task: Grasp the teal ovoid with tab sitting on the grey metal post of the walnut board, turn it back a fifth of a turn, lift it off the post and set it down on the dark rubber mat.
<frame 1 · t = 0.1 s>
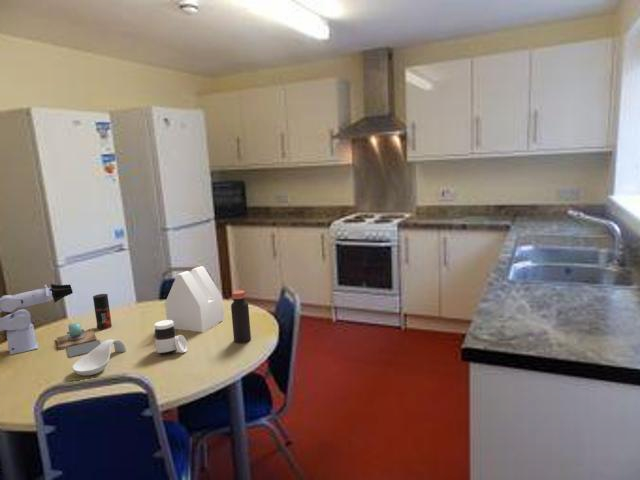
hand: (71, 288, 190), 22 cm above the table, tool horizontal, fingers open, 7 cm apart
deodorant: (104, 327, 204), on the table
spread jar: (172, 352, 173), on the table
bottle: (242, 340, 180), on the table
teal ovoid with tab: (75, 333, 189), point 3 cm above the table, touching post board
spoon rest: (102, 365, 164), on the table
post board: (76, 340, 190), on the table
white peaked block: (196, 324, 202), on the table
mat: (84, 349, 180), on the table
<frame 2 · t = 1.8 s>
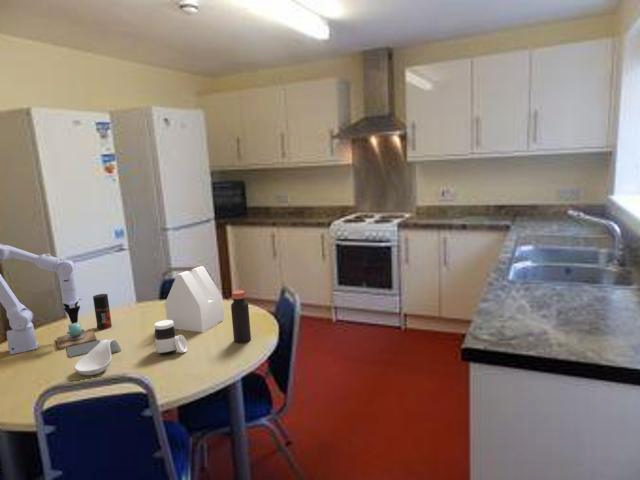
hand: (73, 320, 188), 9 cm above the table, tool pointing down, fingers open, 7 cm apart
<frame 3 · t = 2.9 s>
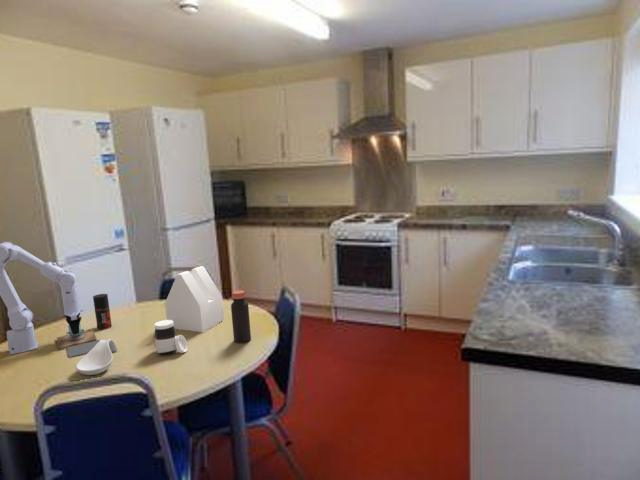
hand: (75, 332, 189), 4 cm above the table, tool pointing down, fingers closed on teal ovoid with tab, 5 cm apart
teal ovoid with tab: (75, 333, 189), point 3 cm above the table, touching gripper, post board
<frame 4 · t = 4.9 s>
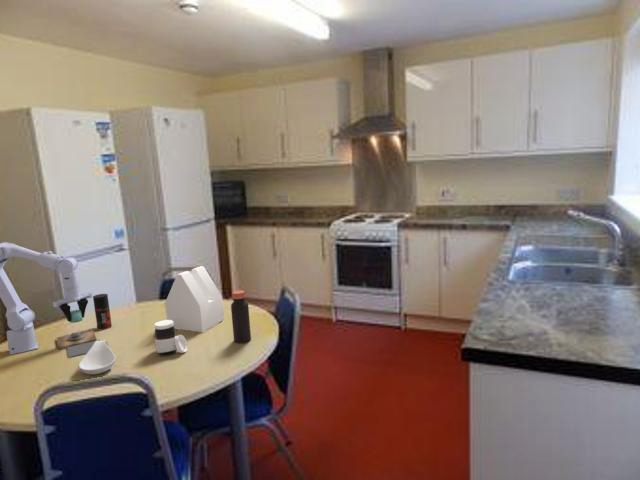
hand: (76, 319, 185), 10 cm above the table, tool pointing down, fingers closed on teal ovoid with tab, 5 cm apart
teal ovoid with tab: (76, 320, 185), point 10 cm above the table, touching gripper
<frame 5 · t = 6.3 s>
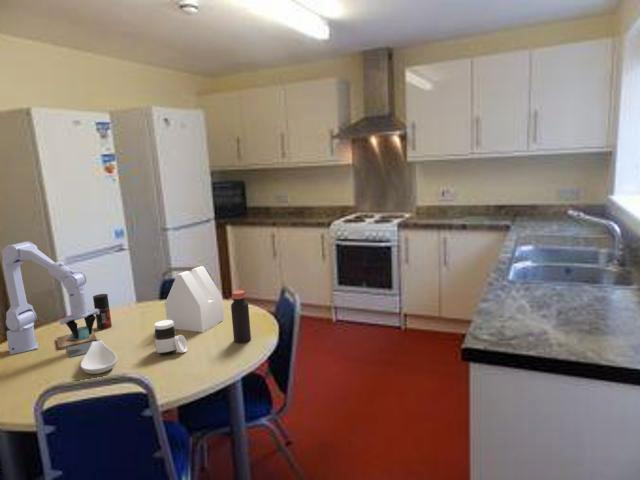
hand: (83, 336, 179), 5 cm above the table, tool pointing down, fingers closed on teal ovoid with tab, 5 cm apart
teal ovoid with tab: (83, 338, 179), point 5 cm above the table, touching gripper
when the fingers open (2 cm above the table, at t = 7.4 s): teal ovoid with tab stays where it is, resting on mat.
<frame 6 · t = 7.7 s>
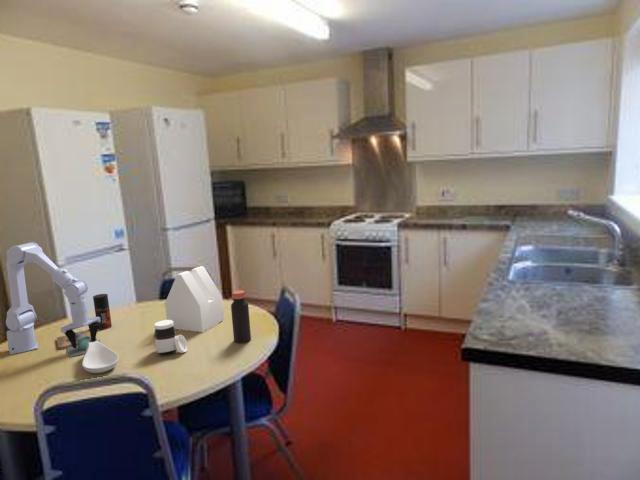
hand: (84, 344, 179), 2 cm above the table, tool pointing down, fingers open, 7 cm apart
teal ovoid with tab: (84, 348, 180), resting on mat
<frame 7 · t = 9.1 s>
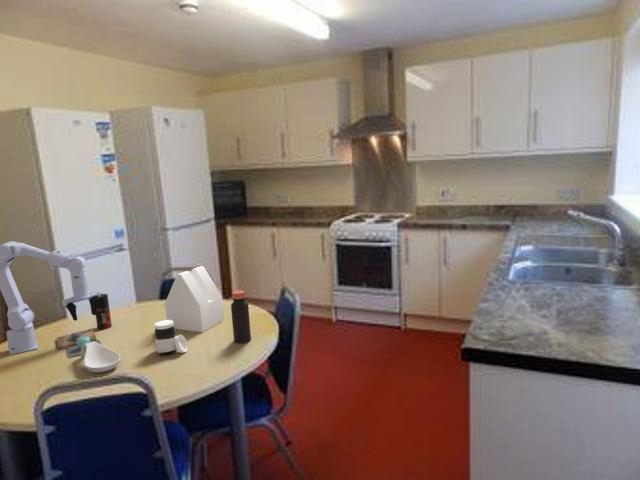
hand: (84, 317, 187), 10 cm above the table, tool pointing down, fingers open, 7 cm apart
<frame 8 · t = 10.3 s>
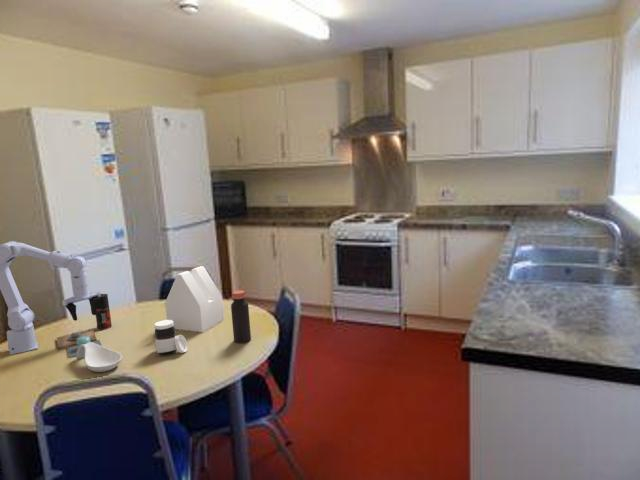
hand: (84, 317, 187), 10 cm above the table, tool pointing down, fingers open, 7 cm apart
at the end: teal ovoid with tab inside the target area on the mat (0.1 cm from its centre), point 0.5 cm above the mat's base; teal ovoid with tab tilted 2°; the gripper is holding nothing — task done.
